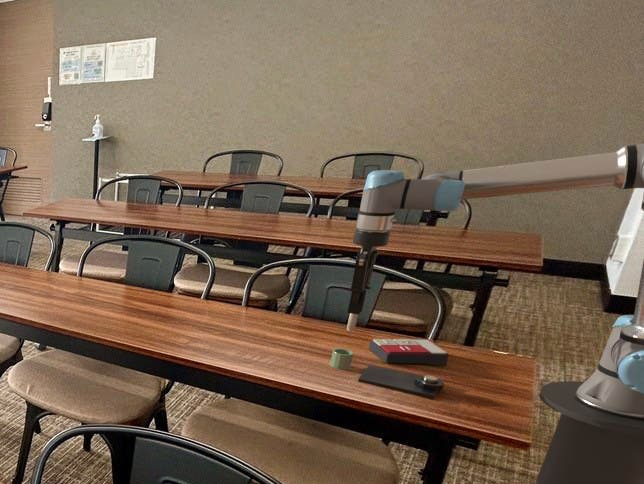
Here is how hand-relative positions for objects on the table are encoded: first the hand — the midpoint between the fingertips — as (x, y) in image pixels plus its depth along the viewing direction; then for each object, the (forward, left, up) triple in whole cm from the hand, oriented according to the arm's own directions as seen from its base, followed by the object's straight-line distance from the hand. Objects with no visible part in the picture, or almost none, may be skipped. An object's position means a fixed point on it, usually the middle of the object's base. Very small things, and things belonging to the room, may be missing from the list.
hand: (354, 312), depth 162 cm
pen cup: (+1, 0, -18) cm, 18 cm away
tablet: (-13, +2, -18) cm, 22 cm away
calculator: (-12, -19, -18) cm, 28 cm away
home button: (-19, +2, -15) cm, 25 cm away
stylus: (0, 0, -6) cm, 6 cm away
